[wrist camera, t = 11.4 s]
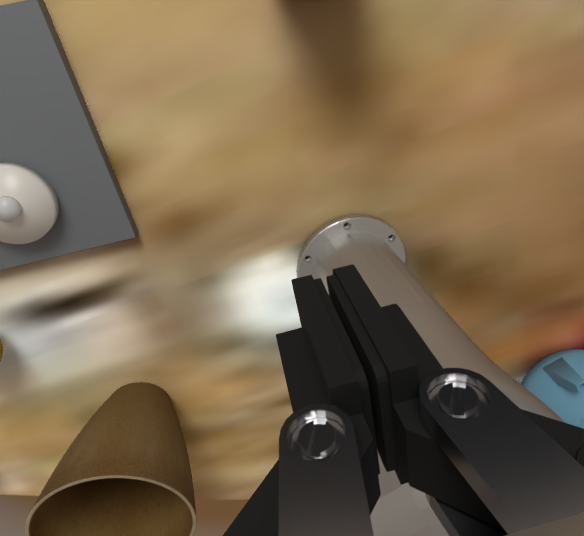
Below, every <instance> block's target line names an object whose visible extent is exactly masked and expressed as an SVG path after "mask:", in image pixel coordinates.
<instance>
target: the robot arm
mask: <svg viewBox="0 0 584 536" xmlns="http://www.w3.org/2000/svg"><path fill="white" fill-rule="evenodd" d="M346 222H347V224H346V225H344V224H345V223H346ZM306 256H308V257H306ZM292 285H293V290H294V294H295V299H296V303H297V308H298V312H299V317H300V321H301V326H302V328H299V329H295V330H291V331H287V332H283V333H280V334H276V338H277V342H278V347H279V351H280V356H281V360H282V365H283V369H284V374H285V378H286V383H287V387H288V392H289V396H290V401H291V405H292V409H293V413H292V414H291V415H290V416H289V417H288V418H287V419H286V420H285V422H284V424H283V426H282V428H281V430H280V436H279V460H278V461H277V462H276V464H275V465H274V467H273V468H272V469H271V471H270V472H269V473H268V475H267V476H266V477H265V479H264V480H263V482H262V483H261V484H260V486H259V487H258V488H257V490H256V491H255V492H254V494H253V495H252V497H251V498H250V499H249V501H248V502H247V503H246V505H245V506H244V508H243V509H242V510H241V512H240V513H239V514H238V516H237V517H236V518H235V520H234V521H233V523H232V524H231V525H230V527H229V528H228V530H227V531H226V532H225V533H224V535H223V536H584V428H580V427H577V426H574V425H571V424H568V423H566V422H565V421H564V420H563V419H562V418H561V417H559V416H558V415H557V414H556V413H555V412H554V411H553V410H552V409H551V408H550V407H548V406H547V405H546V404H545V403H544V402H543V401H541V400H540V399H539V398H538V397H536V396H535V395H534V394H533V393H531V392H530V391H529V390H527V389H526V388H525V387H524V386H522V385H521V384H520V383H519V382H517V381H516V380H515V379H514V378H512V377H511V376H510V375H509V374H507V373H506V372H505V371H504V370H502V369H501V368H500V367H499V366H498V365H497V364H496V363H495V362H493V361H492V360H491V359H490V358H489V357H488V356H487V355H486V354H485V353H484V352H483V351H482V350H481V349H480V348H479V347H478V346H477V345H476V344H475V343H474V342H473V341H472V340H471V339H470V338H469V336H468V335H467V334H466V333H465V332H464V331H463V330H462V329H461V328H460V326H459V325H458V324H457V323H456V322H455V321H454V320H453V318H452V317H451V316H450V315H449V314H448V313H447V312H446V310H445V309H444V308H443V307H442V306H441V305H440V304H439V302H438V301H437V300H436V299H435V298H434V297H433V296H432V294H431V293H430V292H429V291H428V290H427V289H426V288H425V286H424V285H423V284H422V283H421V282H420V281H419V280H418V278H417V277H416V276H415V275H414V274H413V273H412V272H411V270H410V269H409V268H408V267H407V266H406V254H405V248H404V245H403V243H402V240H401V238H400V237H399V235H398V234H397V233H396V231H395V230H394V229H393V228H392V227H391V226H390V225H388V224H387V223H385V222H384V221H382V220H380V219H378V218H375V217H373V216H367V215H349V216H344V217H340V218H337V219H335V220H332V221H330V222H328V223H327V224H325V225H323V226H322V227H320V228H319V229H318V230H317V231H316V232H315V233H313V234H312V236H311V237H310V238H309V239H308V241H307V242H306V243H305V245H304V247H303V249H302V250H301V253H300V256H299V259H298V263H297V278H296V279H292Z"/></svg>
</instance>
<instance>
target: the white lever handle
mask: <svg viewBox="0 0 584 536" xmlns="http://www.w3.org/2000/svg"><path fill="white" fill-rule="evenodd" d="M58 214H59V203H58V199H57V196H56V193H55V192H54V190H53V188H52V187H51V185H50V184H49V183H48V182H47V180H45V179H44V178H43V177H42V176H41V175H40V174H38V173H37V172H35V171H34V170H32V169H30V168H28V167H26V166H23V165H20V164H15V163H9V162H2V163H0V241H1V242H5V243H10V244H26V243H31V242H34V241H36V240H38V239H40V238H42V237H43V236H44V235H45V234H46V233H47V232H48V231H49V230H50V229H51V228H52V226H53V225H54V224H55V222H56V220H57V218H58Z"/></svg>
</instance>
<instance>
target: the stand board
mask: <svg viewBox="0 0 584 536" xmlns="http://www.w3.org/2000/svg"><path fill="white" fill-rule="evenodd" d="M2 162H9V163H15V164H20V165H23V166H26V167H28V168H30V169H32V170H34V171H35V172H37V173H38V174H40V175H41V176H42V177H43V178H44V179H45V180H47V182H48V183H49V184H50V185H51V187H52V188H53V190H54V192H55V193H56V196H57V199H58V203H59V214H58V218H57V220H56V222H55V224H54V225H53V226H52V228H51V229H50V230H49V231H48V232H47V233H46V234H45V235H44V236H43V237H42V238H40V239H38V240H36V241H34V242H31V243H26V244H10V243H5V242H1V241H0V270H3V269H7V268H11V267H15V266H19V265H24V264H28V263H32V262H36V261H40V260H44V259H48V258H52V257H57V256H61V255H65V254H69V253H73V252H77V251H81V250H85V249H89V248H94V247H98V246H102V245H106V244H110V243H114V242H118V241H122V240H127V239H131V238H135V237H136V235H137V233H138V230H137V227H136V225H135V223H134V220H133V218H132V215H131V213H130V210H129V208H128V205H127V203H126V201H125V198H124V196H123V193H122V191H121V188H120V186H119V183H118V181H117V179H116V176H115V174H114V171H113V169H112V166H111V164H110V162H109V159H108V157H107V154H106V152H105V149H104V147H103V144H102V142H101V140H100V137H99V135H98V132H97V130H96V127H95V125H94V123H93V120H92V118H91V115H90V113H89V110H88V108H87V105H86V103H85V101H84V98H83V96H82V93H81V91H80V88H79V86H78V84H77V81H76V79H75V76H74V74H73V71H72V69H71V66H70V64H69V62H68V59H67V57H66V54H65V52H64V49H63V47H62V45H61V42H60V40H59V37H58V35H57V32H56V30H55V27H54V25H53V23H52V20H51V18H50V15H49V13H48V10H47V8H46V6H45V3H44V1H43V0H26V1H21V2H16V3H12V4H7V5H2V6H0V163H2Z"/></svg>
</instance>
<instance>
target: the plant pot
mask: <svg viewBox="0 0 584 536" xmlns="http://www.w3.org/2000/svg"><path fill="white" fill-rule="evenodd" d="M195 529H196V510H195V499H194V490H193V482H192V475H191V469H190V464H189V458H188V453H187V449H186V445H185V441H184V437H183V433H182V430H181V426H180V423H179V420H178V417H177V415H176V412H175V409H174V407H173V404H172V402H171V400H170V398H169V396H168V394H167V393H166V392H165V391H164V390H163V389H161V388H160V387H158V386H156V385H153V384H150V383H142V382H139V383H131V384H127V385H125V386H122V387H121V388H119V389H118V390H116V391H115V392H114V393H113V394H112V395H111V396H110V397H109V398H108V400H107V401H106V402H105V403H104V404H103V405H102V406H101V407H100V408H99V409H98V411H97V412H96V413H95V414H94V415H93V416H92V418H91V419H90V420H89V421H88V423H87V424H86V425H85V426H84V428H83V429H82V430H81V432H80V433H79V434H78V436H77V437H76V438H75V440H74V441H73V443H72V444H71V445H70V447H69V448H68V450H67V451H66V453H65V454H64V456H63V457H62V459H61V460H60V462H59V464H58V465H57V467H56V468H55V470H54V472H53V473H52V475H51V477H50V478H49V480H48V482H47V484H46V485H45V487H44V489H43V490H42V492H41V494H40V496H39V497H38V499H37V501H36V503H35V504H34V506H33V508H32V510H31V512H30V513H29V516H28V518H27V521H26V524H25V534H26V536H193V535H194V533H195Z"/></svg>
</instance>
